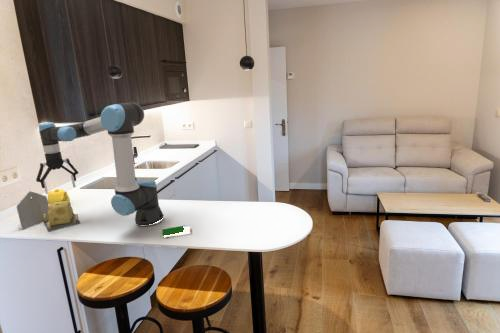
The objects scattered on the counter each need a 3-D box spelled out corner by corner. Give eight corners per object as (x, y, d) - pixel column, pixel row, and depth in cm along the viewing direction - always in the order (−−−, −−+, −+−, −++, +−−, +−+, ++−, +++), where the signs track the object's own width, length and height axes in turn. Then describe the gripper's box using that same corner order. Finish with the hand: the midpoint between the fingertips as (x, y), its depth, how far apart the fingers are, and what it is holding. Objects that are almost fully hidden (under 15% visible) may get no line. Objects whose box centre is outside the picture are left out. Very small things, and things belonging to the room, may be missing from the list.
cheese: (49, 226, 184) (45, 209, 181) (53, 218, 194) (50, 202, 191) (70, 222, 187) (67, 205, 184) (73, 215, 197) (70, 199, 194)
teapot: (77, 204, 219) (74, 188, 217) (61, 210, 210) (58, 193, 207) (59, 200, 227) (55, 185, 224) (43, 206, 218) (39, 190, 215)
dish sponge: (162, 233, 172) (161, 229, 171) (190, 228, 176) (189, 224, 175) (163, 239, 165) (162, 235, 165) (191, 234, 169) (191, 230, 168)
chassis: (80, 223, 189) (78, 214, 187) (48, 232, 180) (46, 223, 178) (73, 214, 201) (72, 206, 200) (43, 222, 192) (41, 214, 191)
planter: (43, 216, 202) (36, 185, 197) (51, 218, 198) (44, 186, 193) (14, 227, 188) (6, 194, 183) (22, 229, 184) (14, 196, 179)
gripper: (76, 147, 191) (83, 183, 196) (24, 155, 176) (33, 194, 182) (79, 148, 185) (86, 185, 191) (25, 157, 170) (35, 197, 176)
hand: (60, 190), depth 186 cm, fingers open, 13 cm apart
